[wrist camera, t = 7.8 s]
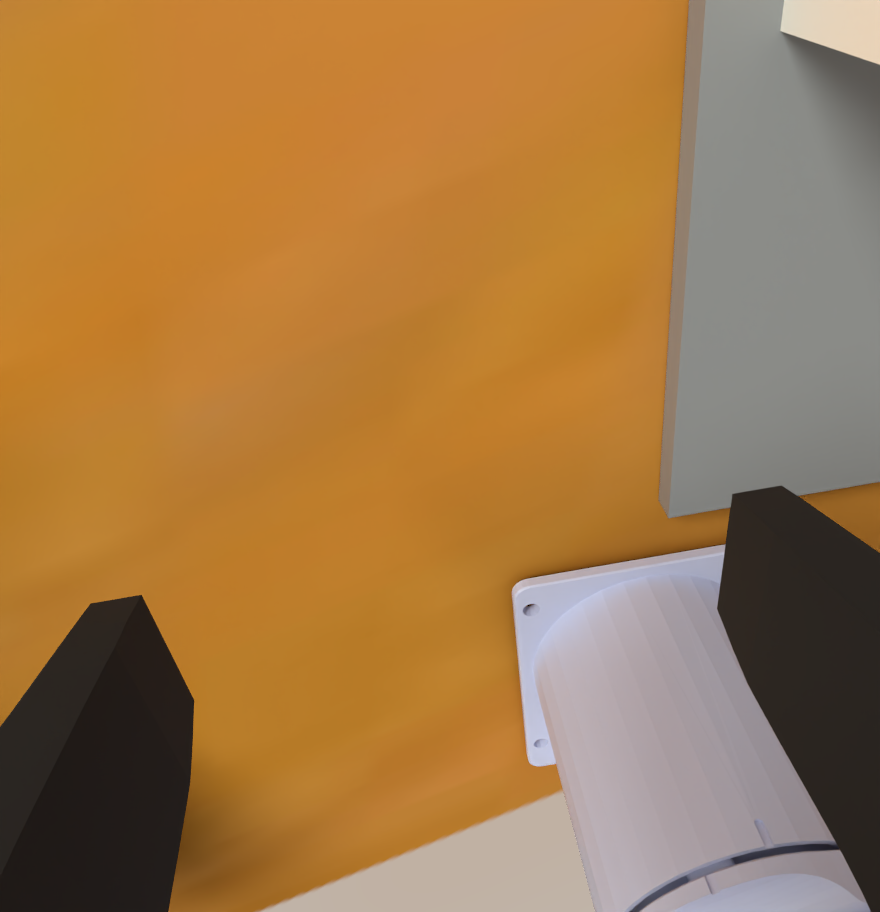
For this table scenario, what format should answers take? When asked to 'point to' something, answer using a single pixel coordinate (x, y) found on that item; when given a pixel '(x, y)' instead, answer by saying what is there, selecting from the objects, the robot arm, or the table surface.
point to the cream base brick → (836, 25)
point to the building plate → (772, 265)
